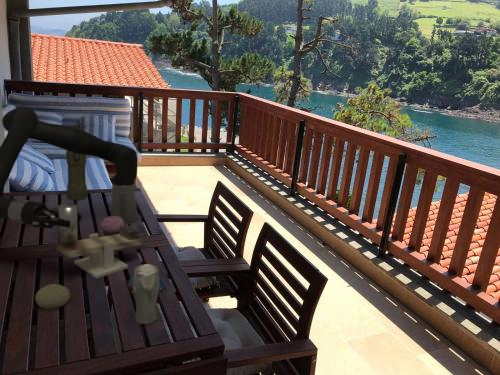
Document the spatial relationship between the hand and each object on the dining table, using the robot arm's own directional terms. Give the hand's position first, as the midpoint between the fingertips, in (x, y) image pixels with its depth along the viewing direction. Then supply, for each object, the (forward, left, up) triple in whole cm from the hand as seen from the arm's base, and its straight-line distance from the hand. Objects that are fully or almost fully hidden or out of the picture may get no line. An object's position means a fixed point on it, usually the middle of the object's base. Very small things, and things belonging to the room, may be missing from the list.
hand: (75, 220), depth 141 cm
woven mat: (-12, +21, -20) cm, 31 cm away
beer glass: (-2, +35, -19) cm, 40 cm away
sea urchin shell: (+13, +11, -19) cm, 26 cm away
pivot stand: (-10, -1, -19) cm, 21 cm away
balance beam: (-10, -1, -11) cm, 15 cm away
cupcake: (-24, -17, -19) cm, 35 cm away
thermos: (-39, -73, -19) cm, 85 cm away
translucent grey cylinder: (+1, -2, -6) cm, 7 cm away
